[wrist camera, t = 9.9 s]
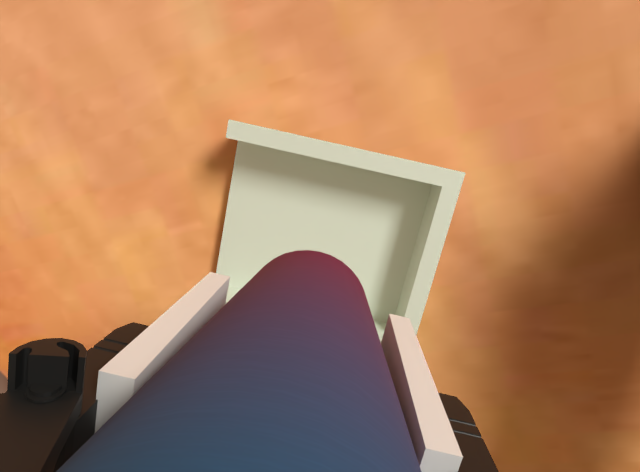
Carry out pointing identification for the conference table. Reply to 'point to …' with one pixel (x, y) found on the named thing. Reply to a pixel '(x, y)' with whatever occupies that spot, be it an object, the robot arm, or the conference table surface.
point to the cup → (267, 387)
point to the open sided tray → (338, 215)
